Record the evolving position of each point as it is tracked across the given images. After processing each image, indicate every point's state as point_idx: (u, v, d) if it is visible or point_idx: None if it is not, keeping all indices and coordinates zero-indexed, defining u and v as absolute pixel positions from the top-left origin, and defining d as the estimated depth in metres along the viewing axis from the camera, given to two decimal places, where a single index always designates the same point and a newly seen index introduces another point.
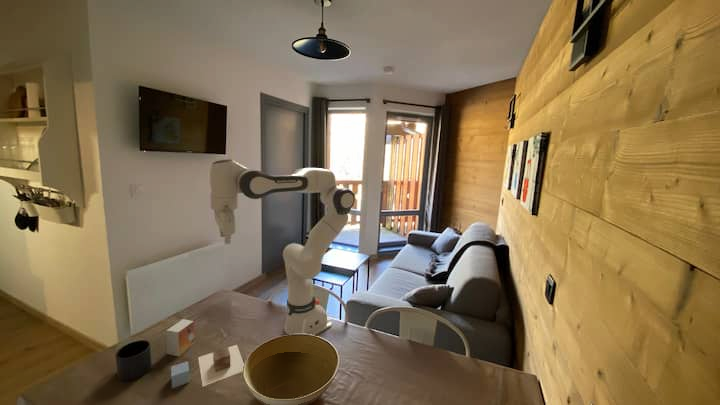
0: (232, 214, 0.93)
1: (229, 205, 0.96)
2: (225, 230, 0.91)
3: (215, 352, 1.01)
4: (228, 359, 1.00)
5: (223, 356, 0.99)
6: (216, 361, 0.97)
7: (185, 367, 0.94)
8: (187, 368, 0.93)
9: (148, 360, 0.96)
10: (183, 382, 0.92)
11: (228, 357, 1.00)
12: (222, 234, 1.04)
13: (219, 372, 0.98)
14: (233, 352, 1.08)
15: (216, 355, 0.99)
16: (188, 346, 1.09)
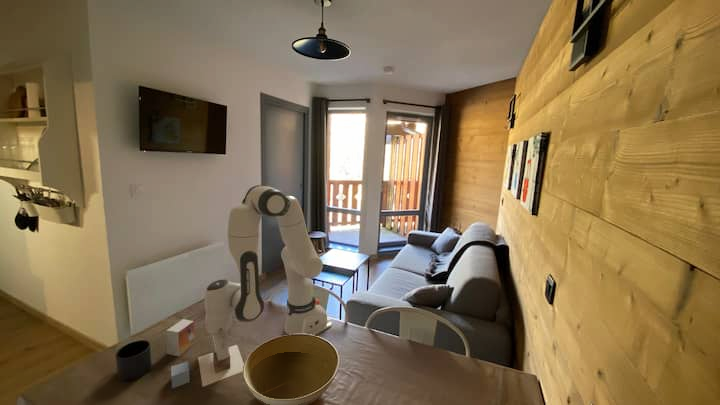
0: (226, 340, 0.96)
1: (223, 327, 1.00)
2: (219, 357, 0.95)
3: (215, 353, 1.00)
4: (228, 360, 0.99)
5: None
6: (216, 362, 0.97)
7: (185, 367, 0.93)
8: (187, 368, 0.93)
9: (148, 360, 0.96)
10: (183, 382, 0.92)
11: (228, 358, 0.99)
12: None
13: (219, 372, 0.98)
14: (233, 352, 1.08)
15: (216, 356, 0.99)
16: (188, 346, 1.09)
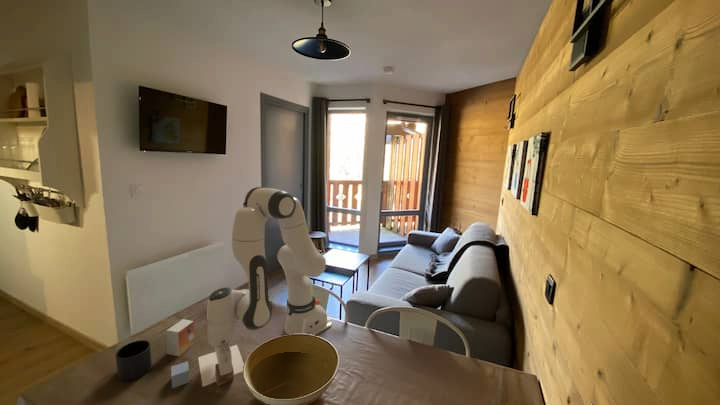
0: (229, 353, 0.90)
1: (226, 339, 0.93)
2: (221, 372, 0.88)
3: (217, 365, 0.94)
4: (231, 375, 0.94)
5: None
6: (219, 378, 0.91)
7: (185, 367, 0.94)
8: (187, 368, 0.93)
9: (148, 360, 0.96)
10: (183, 382, 0.92)
11: (231, 373, 0.93)
12: None
13: None
14: (233, 352, 1.08)
15: None
16: (188, 346, 1.09)
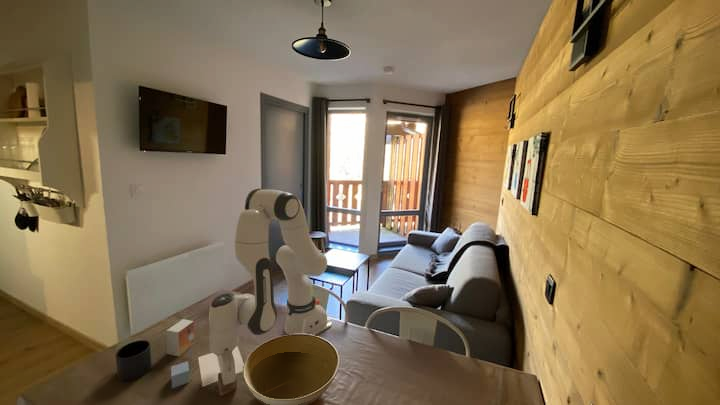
0: (232, 362, 0.86)
1: (229, 347, 0.90)
2: (225, 381, 0.85)
3: (220, 374, 0.90)
4: (234, 384, 0.90)
5: None
6: (221, 388, 0.87)
7: (185, 367, 0.94)
8: (187, 368, 0.93)
9: (148, 360, 0.96)
10: (183, 382, 0.92)
11: (235, 382, 0.90)
12: None
13: (219, 372, 0.98)
14: (233, 352, 1.08)
15: (221, 380, 0.89)
16: (188, 346, 1.09)
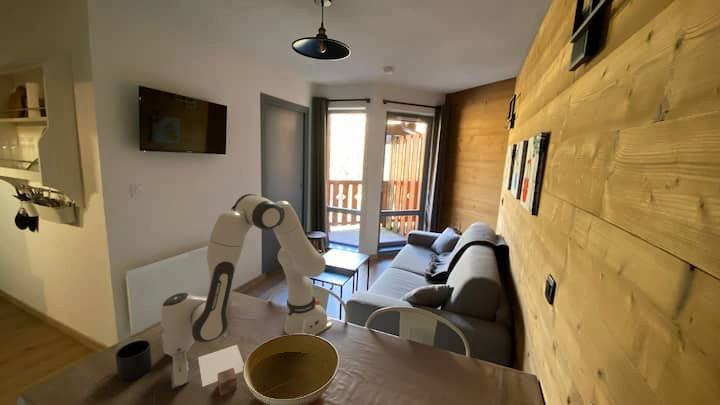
0: (184, 362, 0.85)
1: (182, 347, 0.88)
2: (175, 382, 0.84)
3: (220, 374, 0.92)
4: (234, 382, 0.91)
5: (229, 378, 0.90)
6: (221, 385, 0.88)
7: None
8: (187, 368, 0.93)
9: (148, 360, 0.96)
10: None
11: (234, 380, 0.91)
12: None
13: (219, 372, 0.98)
14: (233, 352, 1.08)
15: (221, 378, 0.90)
16: None
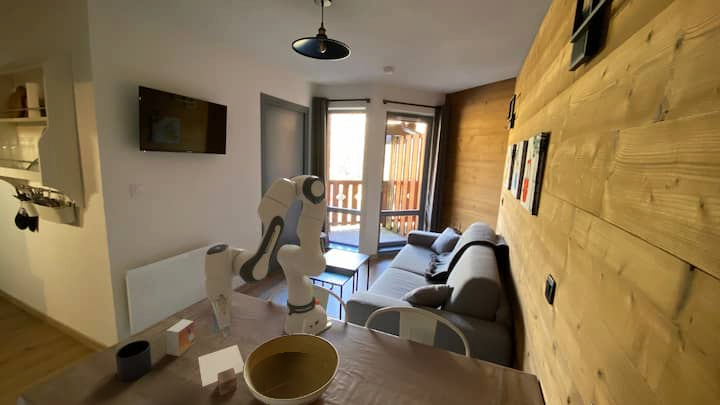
0: (227, 306, 0.91)
1: (224, 293, 0.94)
2: (220, 323, 0.90)
3: (220, 374, 0.92)
4: (234, 382, 0.91)
5: (229, 378, 0.90)
6: (221, 385, 0.88)
7: None
8: None
9: (148, 360, 0.96)
10: None
11: (234, 380, 0.91)
12: None
13: (219, 372, 0.98)
14: (233, 352, 1.08)
15: (221, 378, 0.90)
16: (188, 346, 1.09)
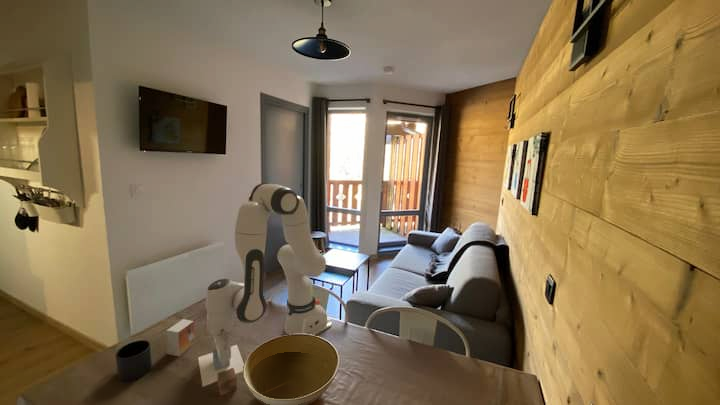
0: (228, 341, 0.93)
1: (225, 328, 0.97)
2: (221, 359, 0.92)
3: (220, 374, 0.92)
4: (234, 382, 0.91)
5: (229, 378, 0.90)
6: (221, 385, 0.88)
7: None
8: None
9: (148, 360, 0.96)
10: None
11: (234, 380, 0.91)
12: None
13: (219, 372, 0.98)
14: (233, 352, 1.08)
15: (221, 378, 0.90)
16: (188, 346, 1.09)
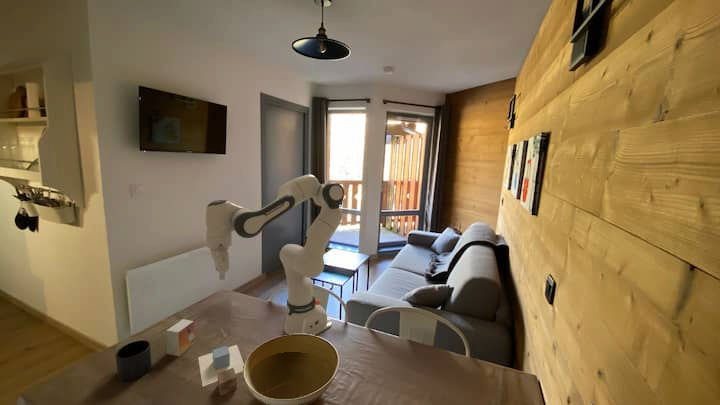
0: (226, 253, 1.00)
1: (223, 243, 1.03)
2: (219, 269, 0.98)
3: (220, 374, 0.92)
4: (234, 382, 0.91)
5: (229, 378, 0.90)
6: (221, 385, 0.88)
7: (225, 351, 1.02)
8: (227, 351, 1.02)
9: (148, 360, 0.96)
10: (224, 364, 1.00)
11: (234, 379, 0.91)
12: None
13: (219, 372, 0.98)
14: (233, 352, 1.08)
15: (221, 378, 0.90)
16: (188, 346, 1.09)
